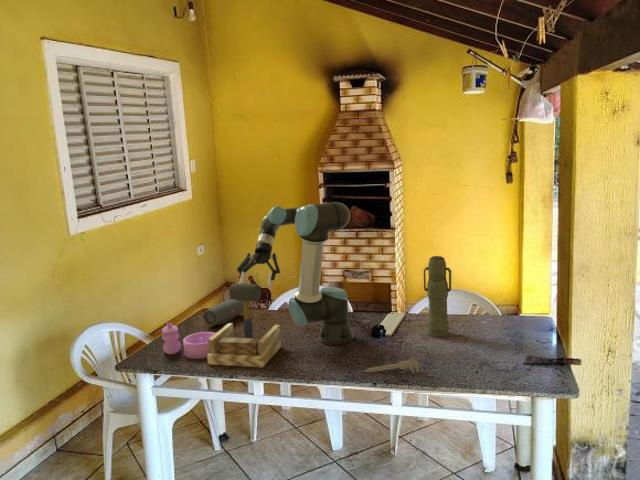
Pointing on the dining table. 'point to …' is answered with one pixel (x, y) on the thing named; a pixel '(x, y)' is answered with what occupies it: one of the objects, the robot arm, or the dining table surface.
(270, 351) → the pine rack
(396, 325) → the baseboard
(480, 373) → the dining table surface
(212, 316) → the bluetooth speaker
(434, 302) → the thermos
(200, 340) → the container set
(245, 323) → the rubber mallet
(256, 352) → the middle offcut
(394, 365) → the caliper
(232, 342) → the top offcut
